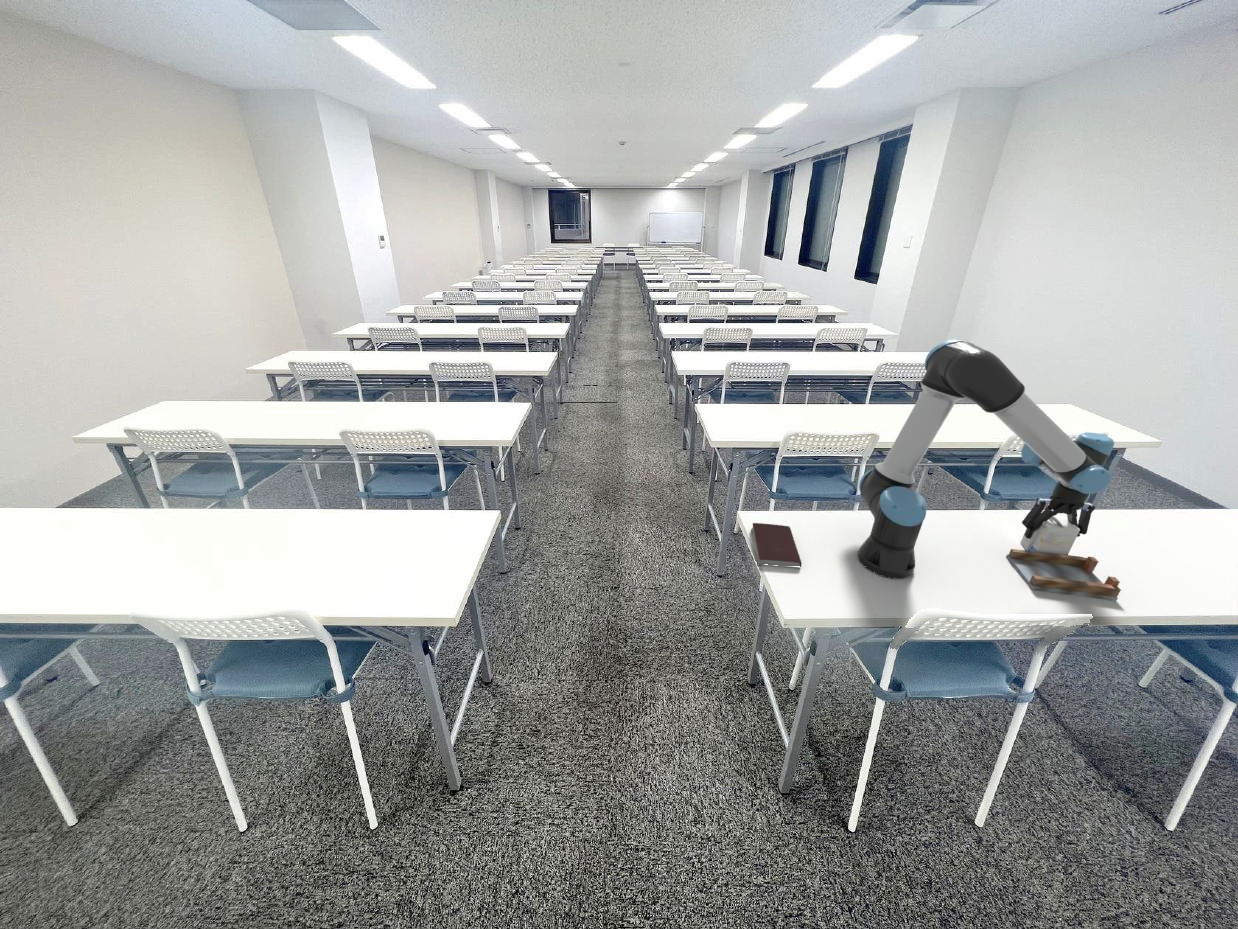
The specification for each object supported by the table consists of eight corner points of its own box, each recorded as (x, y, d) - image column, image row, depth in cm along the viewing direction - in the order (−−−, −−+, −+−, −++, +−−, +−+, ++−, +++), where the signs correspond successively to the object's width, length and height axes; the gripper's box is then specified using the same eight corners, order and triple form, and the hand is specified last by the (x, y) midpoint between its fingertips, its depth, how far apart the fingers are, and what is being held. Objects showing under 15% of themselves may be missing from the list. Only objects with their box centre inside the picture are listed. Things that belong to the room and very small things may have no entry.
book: (789, 533, 159) (790, 525, 158) (800, 570, 142) (802, 561, 140) (750, 530, 161) (751, 522, 159) (757, 566, 143) (759, 558, 142)
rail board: (1031, 589, 133) (1038, 575, 131) (1006, 557, 146) (1012, 543, 144) (1116, 601, 129) (1125, 586, 127) (1082, 566, 142) (1089, 553, 140)
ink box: (1065, 562, 144) (1084, 525, 138) (1034, 558, 146) (1051, 522, 139) (1048, 545, 152) (1066, 509, 145) (1019, 542, 153) (1035, 507, 147)
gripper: (1039, 487, 137) (1010, 550, 147) (1127, 495, 132) (1091, 560, 142) (1025, 475, 143) (999, 536, 153) (1109, 482, 139) (1076, 546, 149)
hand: (1043, 548), depth 148 cm, fingers closed on ink box, 8 cm apart
